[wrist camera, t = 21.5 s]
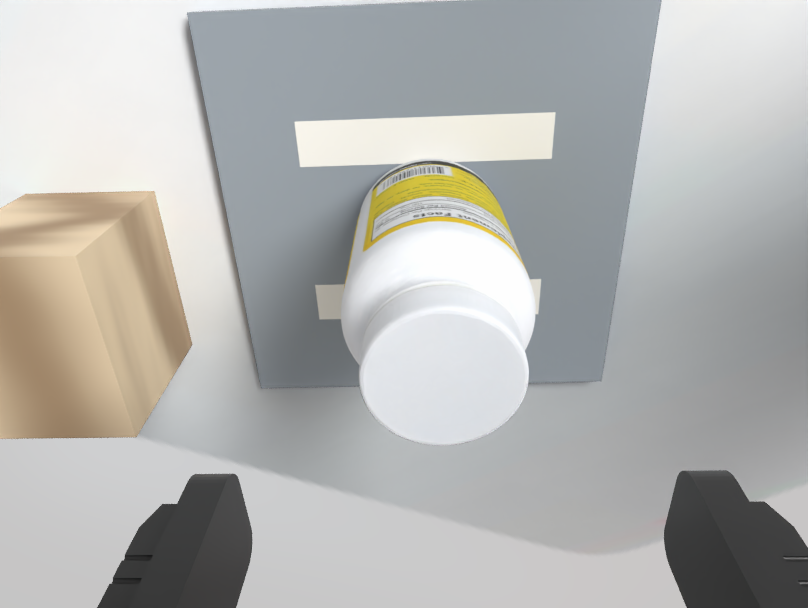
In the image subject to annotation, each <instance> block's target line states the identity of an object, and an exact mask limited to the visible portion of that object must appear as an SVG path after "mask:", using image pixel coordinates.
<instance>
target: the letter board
mask: <svg viewBox="0 0 808 608" xmlns="http://www.w3.org/2000/svg"><path fill="white" fill-rule="evenodd" d="M660 6H661V0H459V1H435V2H412V3H388V4H365V5H342V6H318V7H295V8H272V9H248V10H225V11H201V12H189V13H187V15H188V20H189V26H190V31H191V36H192V41H193V46H194V51H195V56H196V61H197V66H198V71H199V76H200V81H201V86H202V91H203V96H204V101H205V106H206V111H207V117H208V122H209V127H210V132H211V137H212V142H213V147H214V152H215V157H216V162H217V167H218V172H219V177H220V182H221V187H222V192H223V197H224V202H225V207H226V213H227V218H228V223H229V228H230V233H231V238H232V243H233V248H234V253H235V258H236V263H237V268H238V273H239V278H240V283H241V288H242V293H243V298H244V304H245V309H246V314H247V319H248V324H249V329H250V334H251V339H252V344H253V349H254V354H255V359H256V364H257V369H258V374H259V379H260V384H261V388H302V387H351V386H360V385H359V366H360V365H359V364H358V363H357V362H356V360H355V359H354V357H353V356H352V354H351V352H350V350H349V348H348V346H347V344H346V341H345V338H344V335H343V330H342V324H341V303H342V295H343V289H344V285H345V280H346V275H347V270H348V265H349V260H350V255H351V250H352V245H353V240H354V235H355V230H356V225H357V220H358V216H359V213H360V210H361V207H362V204H363V202H364V199H365V197H366V196H367V194H368V192H369V191H370V189H371V188H372V187H373V185H374V184H375V183H376V182H377V181H378V180H379V179H380V178H381V177H382V176H383V175H385V174H386V173H387V172H389V171H390V170H392V169H393V168H395V167H397V166H399V165H402V164H404V163H407V162H410V161H414V160H419V159H443V160H448V161H452V162H455V163H458V164H460V165H462V166H464V167H466V168H468V169H470V170H471V171H473V172H474V173H476V174H477V175H478V176H479V177H480V178H482V179H483V180H484V181H485V183H486V184H487V185H488V186H489V188H490V189H491V190H492V192H493V193H494V195H495V197H496V199H497V201H498V203H499V205H500V207H501V209H502V212H503V214H504V217H505V219H506V222H507V224H508V226H509V229H510V231H511V234H512V237H513V239H514V241H515V244H516V246H517V249H518V251H519V254H520V256H521V259H522V261H523V264H524V266H525V268H526V271H527V273H528V276H529V279H530V282H531V286H532V289H533V293H534V298H535V309H536V314H535V324H534V329H533V333H532V336H531V339H530V341H529V344H528V346H527V348H526V350H525V353H526V357H527V361H528V367H529V378H528V383H547V382H596V381H602V374H603V368H604V362H605V355H606V349H607V343H608V336H609V330H610V324H611V317H612V311H613V305H614V298H615V292H616V286H617V279H618V273H619V267H620V260H621V254H622V248H623V241H624V235H625V228H626V222H627V216H628V209H629V203H630V197H631V190H632V184H633V178H634V171H635V165H636V159H637V152H638V146H639V140H640V133H641V127H642V121H643V114H644V108H645V102H646V95H647V89H648V83H649V76H650V70H651V63H652V57H653V51H654V44H655V38H656V32H657V25H658V19H659V13H660Z"/></svg>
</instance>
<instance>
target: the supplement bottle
mask: <svg viewBox="0 0 808 608" xmlns="http://www.w3.org/2000/svg"><path fill="white" fill-rule="evenodd" d="M535 314H536V309H535V298H534V293H533V289H532V286H531V282H530V279H529V276H528V273H527V271H526V268H525V266H524V264H523V261H522V259H521V256H520V254H519V251H518V249H517V246H516V244H515V241H514V239H513V237H512V234H511V231H510V229H509V226H508V224H507V222H506V219H505V217H504V214H503V212H502V209H501V207H500V205H499V203H498V201H497V199H496V197H495V195H494V193H493V192H492V190H491V189H490V188H489V186H488V185H487V184H486V183H485V181H484V180H483V179H482V178H480V177H479V176H478V175H477V174H476V173H474V172H473V171H471V170H470V169H468V168H466V167H464V166H462V165H460V164H458V163H455V162H452V161H448V160H443V159H419V160H414V161H410V162H407V163H404V164H402V165H399V166H397V167H395V168H393V169H392V170H390V171H389V172H387V173H386V174H385V175H383V176H382V177H381V178H380V179H379V180H378V181H377V182H376V183H375V184H374V185H373V187H372V188H371V189H370V191H369V192H368V194H367V196H366V197H365V199H364V202H363V204H362V207H361V210H360V213H359V216H358V220H357V225H356V230H355V235H354V240H353V245H352V250H351V255H350V260H349V265H348V270H347V275H346V280H345V285H344V289H343V295H342V303H341V324H342V330H343V335H344V338H345V341H346V344H347V346H348V348H349V350H350V352H351V354H352V356H353V357H354V359H355V360H356V362H357V363H358V364H359V365H360V366H359V385H360V390H361V395H362V397H363V400H364V402H365V404H366V406H367V408H368V410H369V411H370V413H371V414H372V415H373V416H374V418H375V419H376V420H377V421H378V422H379V423H381V424H382V425H383V426H384V427H385V428H387V429H388V430H389V431H391V432H392V433H394V434H396V435H398V436H400V437H402V438H404V439H407V440H410V441H413V442H417V443H422V444H427V445H437V446H446V445H456V444H462V443H466V442H470V441H473V440H476V439H479V438H482V437H484V436H486V435H488V434H490V433H491V432H493V431H495V430H496V429H498V428H499V427H501V426H502V425H503V424H504V423H505V422H507V421H508V420H509V419H510V417H511V416H512V415H513V414H514V413H515V412H516V410H517V409H518V408H519V406H520V404H521V402H522V401H523V398H524V396H525V394H526V390H527V386H528V378H529V367H528V361H527V357H526V353H525V350H526V348H527V346H528V344H529V341H530V339H531V336H532V333H533V329H534V324H535Z"/></svg>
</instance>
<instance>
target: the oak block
mask: <svg viewBox="0 0 808 608" xmlns="http://www.w3.org/2000/svg"><path fill="white" fill-rule="evenodd" d="M191 346H192V341H191V337H190V333H189V329H188V325H187V321H186V317H185V313H184V309H183V305H182V301H181V297H180V293H179V289H178V285H177V281H176V277H175V273H174V269H173V265H172V261H171V257H170V252H169V248H168V244H167V240H166V236H165V232H164V228H163V224H162V220H161V216H160V212H159V208H158V204H157V200H156V196H155V192H154V191H133V192H89V193H46V194H25V195H23V196H21V197H20V198H18V199H16V200H14V201H12V202H11V203H9V204H7V205H5V206H4V207H2V208H0V439H12V438H13V439H15V438H16V439H19V438H102V437H103V438H105V437H107V438H109V437H137V435H138V434H139V432H140V430H141V429H142V427H143V425H144V424H145V422H146V420H147V419H148V417H149V415H150V414H151V412H152V410H153V409H154V407H155V405H156V404H157V402H158V401H159V399H160V397H161V396H162V394H163V392H164V391H165V389H166V387H167V386H168V384H169V382H170V381H171V379H172V377H173V376H174V374H175V372H176V371H177V369H178V367H179V366H180V364H181V362H182V361H183V359H184V357H185V356H186V354H187V352H188V351H189V349H190V348H191Z"/></svg>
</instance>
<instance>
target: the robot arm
mask: <svg viewBox="0 0 808 608" xmlns="http://www.w3.org/2000/svg"><path fill="white" fill-rule="evenodd" d="M664 543H665V550H666V555H667V559H668V562H669V565H670V568H671V570H672V573H673V575H674V577H675V580H676V582H677V585H678V587H679V590H680V592H681V595H682V597H683V600H684V602H685V604H686V606H687V608H808V547H807V546H806V545H805V543H804V541H803V540H802V538H801V537H800V535H799V534H798V532H797V531H796V529H795V528H794V527H793V526H792V525H791V524H790V523H789V522H788V521H786V520H785V519H784V518H783V517H782V516H781V515H779V514H778V513H777V512H776V511H775V510H774V509H773V508H771V507H770V506H769V505H768V504H767V503H765V502H749V500H748V498H747V497H746V495H745V494H744V492H743V490H742V489H741V487H740V485H739V484H738V482H737V480H736V479H735V478H734V476H733V475H732V474H731V473H730V472H728V471H682V472H680V473H679V475H678V477H677V480H676V484H675V489H674V493H673V497H672V501H671V505H670V509H669V513H668V517H667V521H666V525H665V530H664ZM251 552H252V530H251V526H250V521H249V517H248V513H247V510H246V506H245V502H244V498H243V494H242V490H241V487H240V483H239V479H238V477H237V476H236V475H235V474H195V475H193V476H192V477H191V478H190V479H189V481H188V483H187V485H186V487H185V489H184V491H183V493H182V495H181V497H180V499H179V501H178V504H162V505H161V506H160V507H159V508H158V509H157V510H156V511H155V512H154V513H153V514H152V515H151V516H150V517H149V518H148V519H147V520H146V521H145V522H144V523H143V524H142V525H141V526H140V527H139V529H138V531H137V533H136V535H135V537H134V538H133V540H132V542H131V544H130V546H129V548H128V550H127V552H126V554H125V559H124V561H122V562H121V563H120V565H119V567H118V569H117V571H116V573H115V575H114V577H113V582H112V584H109V586H108V588H107V590H106V592H105V594H104V596H103V598H102V600H101V602H100V604H99V605H98V607H97V608H236V606H237V602H238V599H239V596H240V593H241V589H242V586H243V583H244V580H245V576H246V573H247V570H248V566H249V563H250V558H251Z"/></svg>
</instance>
